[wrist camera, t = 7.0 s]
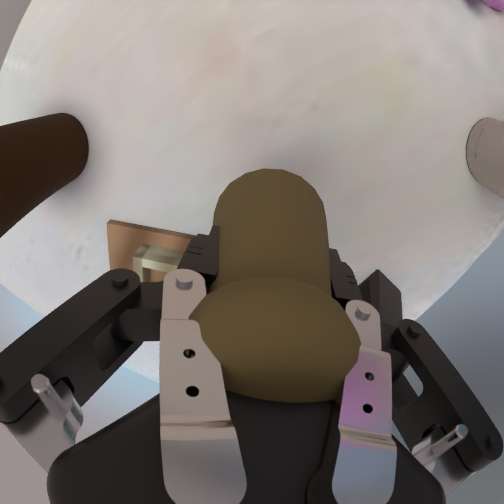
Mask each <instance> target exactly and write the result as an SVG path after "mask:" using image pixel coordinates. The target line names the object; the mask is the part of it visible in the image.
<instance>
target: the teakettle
mask: <svg viewBox="0 0 504 504" xmlns="http://www.w3.org/2000/svg"><path fill="white" fill-rule="evenodd" d="M483 1H484V2H485V3H486V4H487V5H488V6H489V7H492V8H493V9H497V10H501V11H504V0H483Z"/></svg>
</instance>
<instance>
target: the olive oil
mask: <svg viewBox="0 0 504 504" xmlns="http://www.w3.org/2000/svg"><path fill="white" fill-rule="evenodd" d="M87 156H88V141H87V137H86V133H85V131H84V129H83V127H82V125H81V124H80V122H79V121H78V120H77V119H76V118H74V117H73V116H71V115H69V114H65V113H58V114H52V115H47V116H43V117H38V118H34V119H29V120H24V121H20V122H15V123H11V124H7V125H3V126H0V238H1V237H2V236H3V235H4V234H5V233H6V232H7V231H8V230H9V229H11V228H12V227H13V226H14V225H15V224H16V223H17V222H18V221H20V220H21V219H22V218H23V217H24V216H25V215H27V214H28V213H29V212H30V211H31V210H33V209H34V208H35V207H36V206H38V205H39V204H40V203H42V202H43V201H44V200H45V199H47V198H48V197H49V196H51V195H52V194H54V193H55V192H56V191H58V190H59V189H61V188H62V187H64V186H65V185H67V184H68V183H70V182H71V181H73V180H74V179H75V178H77V177H78V176H79V175H80V173H81V172H82V170H83V169H84V167H85V164H86V161H87Z"/></svg>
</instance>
